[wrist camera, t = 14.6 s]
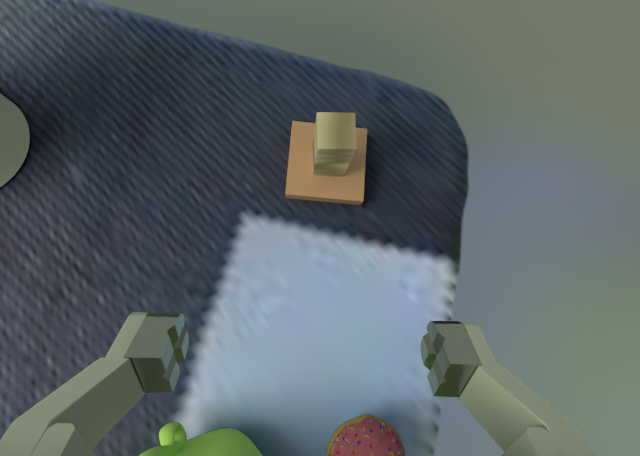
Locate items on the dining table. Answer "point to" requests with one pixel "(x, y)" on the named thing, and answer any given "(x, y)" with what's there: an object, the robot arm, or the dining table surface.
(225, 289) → the dining table surface
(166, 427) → the teapot
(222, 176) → the dining table surface
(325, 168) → the post
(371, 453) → the cupcake
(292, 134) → the tile
